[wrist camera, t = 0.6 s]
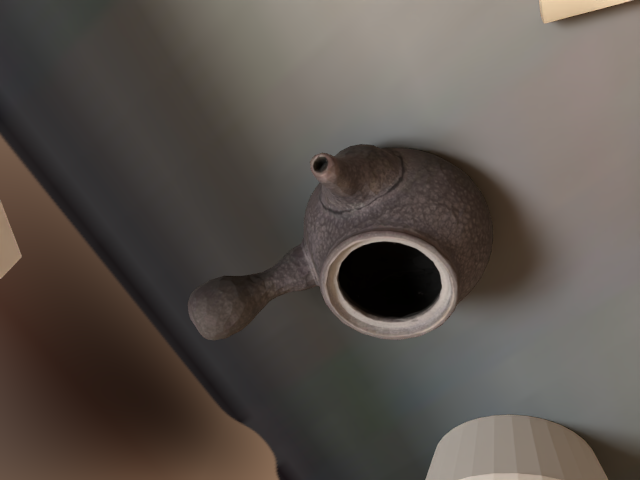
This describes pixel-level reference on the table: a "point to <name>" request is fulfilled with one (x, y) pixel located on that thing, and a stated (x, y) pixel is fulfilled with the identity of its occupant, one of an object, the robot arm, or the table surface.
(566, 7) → the board
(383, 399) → the table surface
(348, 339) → the table surface
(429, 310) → the teapot
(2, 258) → the robot arm
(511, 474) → the bowl
